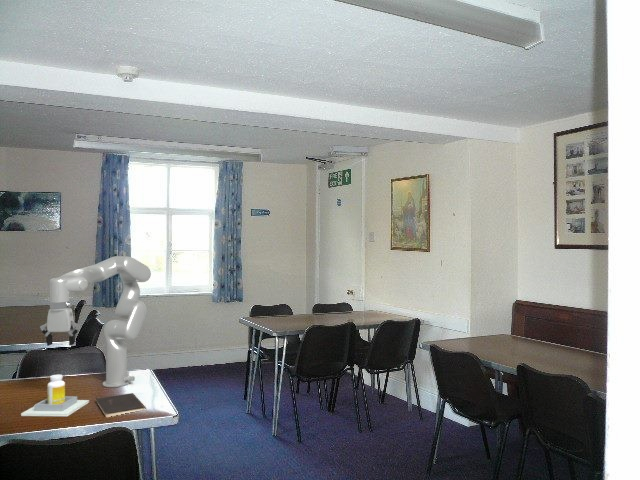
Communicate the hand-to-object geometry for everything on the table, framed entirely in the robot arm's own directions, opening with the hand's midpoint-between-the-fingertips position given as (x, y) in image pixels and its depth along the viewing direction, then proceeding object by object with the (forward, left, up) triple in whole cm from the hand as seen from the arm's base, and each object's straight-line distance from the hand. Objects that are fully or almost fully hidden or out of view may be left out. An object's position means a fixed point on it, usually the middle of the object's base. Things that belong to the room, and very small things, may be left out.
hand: (60, 344), depth 224 cm
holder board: (-3, +8, -25) cm, 27 cm away
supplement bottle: (-3, +8, -25) cm, 26 cm away
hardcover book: (-28, +4, -26) cm, 39 cm away
